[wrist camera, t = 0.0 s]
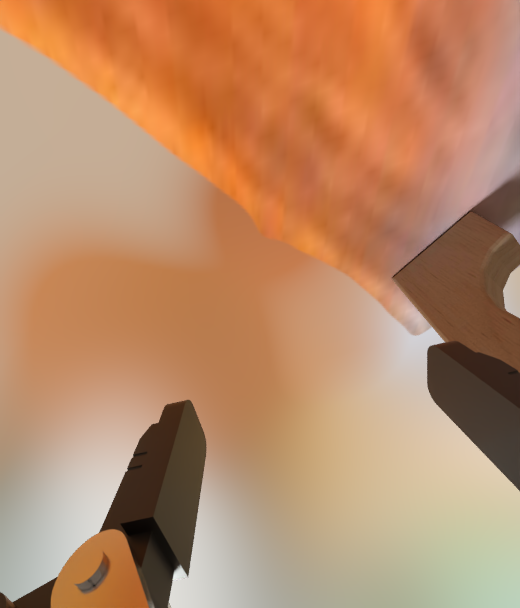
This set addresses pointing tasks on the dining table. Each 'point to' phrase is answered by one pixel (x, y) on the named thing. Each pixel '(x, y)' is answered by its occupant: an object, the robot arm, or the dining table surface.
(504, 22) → the dining table surface
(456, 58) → the dining table surface
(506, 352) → the decorative block
